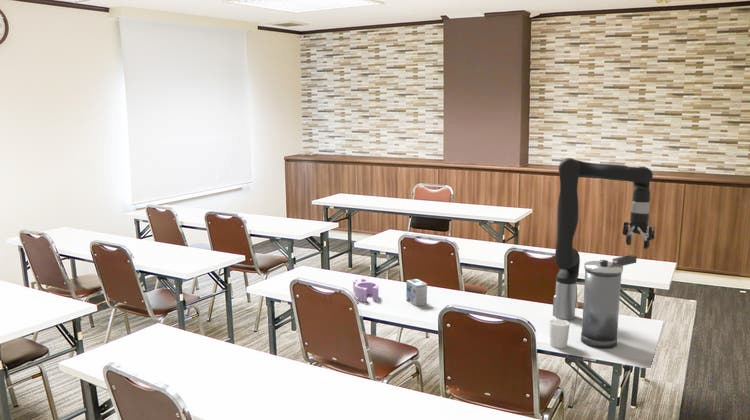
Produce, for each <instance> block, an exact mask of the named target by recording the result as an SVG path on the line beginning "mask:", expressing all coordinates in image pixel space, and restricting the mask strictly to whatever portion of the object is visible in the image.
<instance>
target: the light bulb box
mask: <svg viewBox="0 0 750 420" xmlns="http://www.w3.org/2000/svg"><path fill="white" fill-rule="evenodd" d="M405 294H406V297H405V298H406V301H407V300H408V302H409V303H410V302H411V303H410V304H412V305H414V306H415V305H418V306H423V304H425V305H427V304H428V300H427V299H428V296H427V295H428V283H426V282H424V281H422V280H420V279H418V278H415V279H414V278H413V279H407V280H406V293H405Z"/></svg>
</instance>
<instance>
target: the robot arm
mask: <svg viewBox="0 0 750 420" xmlns="http://www.w3.org/2000/svg"><path fill="white" fill-rule="evenodd" d="M558 174H559V182H560V183H559V184H560V187H559V188H560V189H559V196H558V201H557V216H556V217H557V223H556V231H557V232H556V237H557V238H556V245H555V252H554V253H555V254H554V262H555V264H556V266H557V267H558V268H559V269H558V273H557V274H556V276H555V295H553V301H552V302H553V303H552V315H553V316H554V317H555V318H557V319H560V320H565V321H568V320H570V321H571V320H574V319H576V302H577V301H576V300H577V283H578V277H579V272H580V263H581V259H580V256H581V255H580V254H579V251H578V250H577V249H576V248H574V247H573V243H574V242H573V241H574V236H575V234H576V231H577V227H578V223H579V198H578V196H579V195H578V183H579V177H593V178H598V179H601V180H602V179H603V180H610V181H618V182H620V181H621V182H623V181H624V182H630V183H633V191H632V199H631V200H632V201H631V208H630V209H631V210H630V220H629V221H624V222H623V227H622V235H623V236H625V243H626V246H631V245H632V235H634V234H638V235H641V236H642V238H643V239H644V240H643V241H644V242H643V249H644V250H647V249H648V248H650V241H652V240H653V241H654V240H655V228H656V227H655V226H651V225H650V226H649V219H650V209H651V208H650V201H651V200H650V199H651V191H650V184H651V183H650V182H651V181H652V180H653V177H654V175H653V171H652V170H651V169H650V168H648V167H646V166H637V167H635V166H628V165H624V164H611V163H597V162H596V163H593V162H586V161H582V160H579V159H578V160H577V159H575V158H571V157H567V158H564V159H563V160H561V161H560V163H559V164H558ZM629 228H630V229H629Z"/></svg>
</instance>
